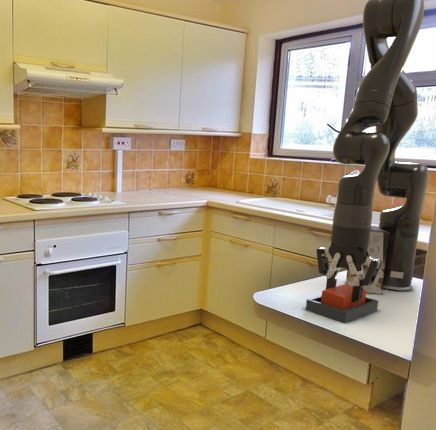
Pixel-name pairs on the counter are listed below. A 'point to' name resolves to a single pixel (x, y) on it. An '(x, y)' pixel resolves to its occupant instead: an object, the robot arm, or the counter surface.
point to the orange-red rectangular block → (341, 297)
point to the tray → (339, 314)
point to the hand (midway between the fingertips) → (342, 297)
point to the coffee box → (376, 251)
